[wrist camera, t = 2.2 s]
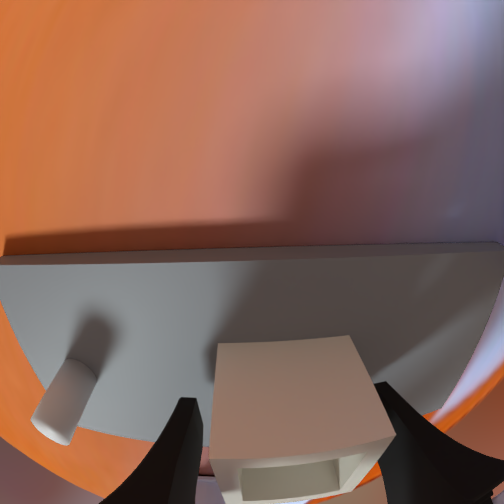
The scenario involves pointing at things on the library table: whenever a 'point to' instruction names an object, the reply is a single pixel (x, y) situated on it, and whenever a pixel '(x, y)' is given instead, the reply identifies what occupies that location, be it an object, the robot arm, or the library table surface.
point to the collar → (294, 420)
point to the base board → (237, 321)
